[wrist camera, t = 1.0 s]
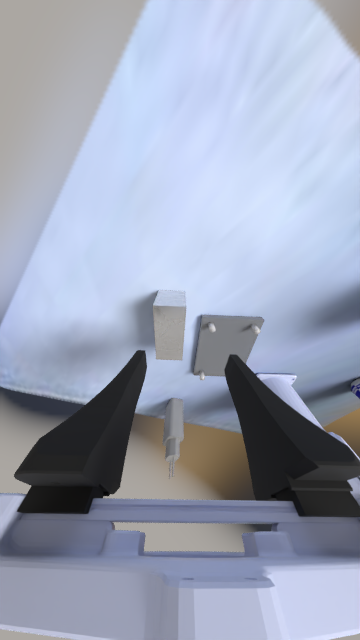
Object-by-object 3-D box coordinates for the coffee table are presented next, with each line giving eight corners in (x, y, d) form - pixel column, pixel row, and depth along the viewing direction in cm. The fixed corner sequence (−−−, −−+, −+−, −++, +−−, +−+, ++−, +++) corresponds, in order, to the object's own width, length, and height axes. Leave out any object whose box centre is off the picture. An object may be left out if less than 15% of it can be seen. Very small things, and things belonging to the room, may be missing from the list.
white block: (181, 337, 23) (182, 360, 18) (160, 336, 23) (156, 359, 18) (184, 290, 19) (186, 306, 14) (159, 289, 18) (152, 305, 14)
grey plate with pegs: (238, 373, 27) (242, 383, 25) (193, 371, 27) (194, 382, 25) (261, 317, 20) (270, 325, 18) (201, 314, 20) (204, 322, 18)
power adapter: (165, 408, 35) (158, 481, 24) (171, 397, 32) (167, 473, 22) (176, 410, 35) (175, 482, 25) (184, 400, 32) (185, 475, 22)
